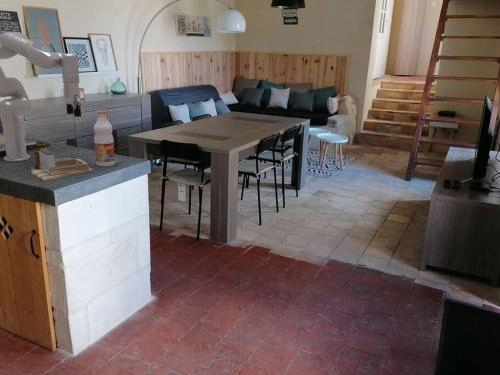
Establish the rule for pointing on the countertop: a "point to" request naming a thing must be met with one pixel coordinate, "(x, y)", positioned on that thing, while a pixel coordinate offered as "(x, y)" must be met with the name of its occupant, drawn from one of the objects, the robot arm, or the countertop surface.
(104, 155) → the fruit juice
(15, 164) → the countertop surface
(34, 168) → the condiment
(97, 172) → the countertop surface
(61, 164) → the wooden tray
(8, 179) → the countertop surface
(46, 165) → the grey flat block
